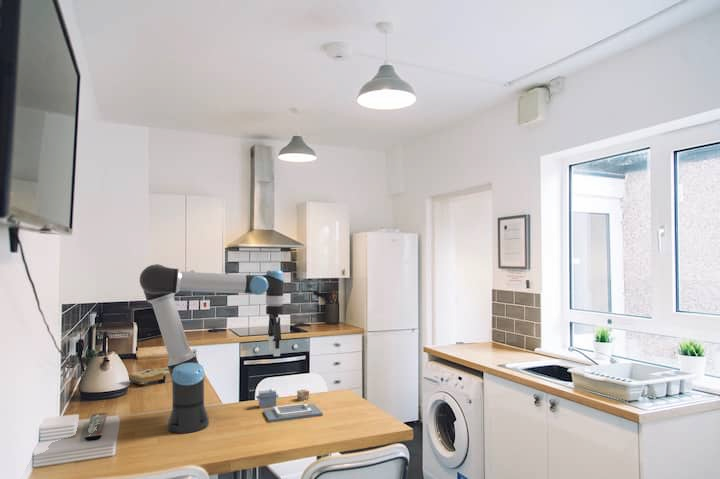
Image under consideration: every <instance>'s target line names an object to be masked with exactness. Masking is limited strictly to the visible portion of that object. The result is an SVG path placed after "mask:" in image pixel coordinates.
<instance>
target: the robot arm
mask: <svg viewBox="0 0 720 479" xmlns="http://www.w3.org/2000/svg"><path fill="white" fill-rule="evenodd" d="M284 279H285V278H284V271H282V270H266V274H235V273H234V274H230V273H215V272H214V273H213V272H195V271H182V270H180V269H179V268H172V267H167V266H164V265H163V264H157V263H155V264H150V265H148V266H146V267H145V268H144V269H143V270H142V271H141V273H140V276H139V285H140V287H141V289H142V290H143V293H144V297H145V300H146V302H148V303H150V304H151V306H152V308H153V312H154V314H155V318H156V320H157V323H158V329H159V330H160V333H161V336H162V339H163V342H164V343H163V344H164V346H165V350H166V353H167V355H168V358H169V359H168V362H167V363H166V367H168V369H169V372H170V376H171V379H172V382H171V385H172V407H171V408H172V409H171V412H170V414H169V418H168V421H167V431H168V432H170V433H175V434H187V433H194V432H197V431H201V430H203V429H206V428H207V427H208V426H209V425H210V424H209V422H210V421H209V416H208V412H207V409H206V405H205V368H204V366H203V365H202V364H201V363H199V361H198V358H197V354H196V353H194V352H192V351H191V348H190V346H189V342H188V339H187V336H186V333H185V330H184V327H183V324H182V320H181V317H180V314H179V311H178V308H177V304H176V300H175V294H177V293H178V292H200V293H201V292H203V293H205V292H206V293H229V294H245V295H246V294H250V295H252V294H253V295H259V296H260V295H262V294H265V293H266V295H265V305H266V306H265V313H266V315H268V319H269V320H268V330H267V336H268V351H269V352H273V355H272V356H273V357H280V356H281V341H282V330H281V329H282V328H281V317H279V315H283V314H284V300H285V297H284V282H285V280H284Z"/></svg>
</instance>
